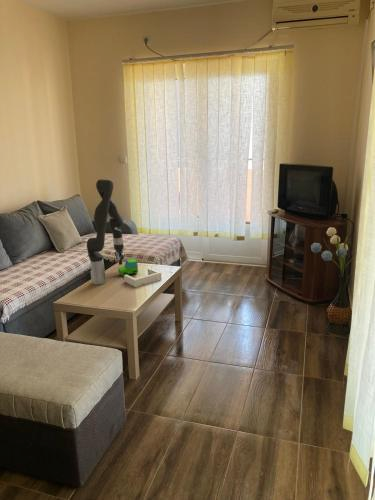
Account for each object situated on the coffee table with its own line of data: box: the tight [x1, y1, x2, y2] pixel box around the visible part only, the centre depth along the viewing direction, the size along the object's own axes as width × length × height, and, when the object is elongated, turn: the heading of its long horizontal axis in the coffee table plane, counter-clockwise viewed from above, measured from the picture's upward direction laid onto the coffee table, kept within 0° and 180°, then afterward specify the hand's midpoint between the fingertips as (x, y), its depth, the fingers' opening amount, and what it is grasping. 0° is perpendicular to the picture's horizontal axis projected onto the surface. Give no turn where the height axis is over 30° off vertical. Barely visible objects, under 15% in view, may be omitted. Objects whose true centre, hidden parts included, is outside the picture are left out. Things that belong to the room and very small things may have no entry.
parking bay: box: [123, 268, 162, 288], centre depth 286 cm, size 22×15×5 cm
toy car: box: [117, 258, 139, 276], centre depth 302 cm, size 10×13×10 cm
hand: (120, 264), depth 311 cm, fingers closed
